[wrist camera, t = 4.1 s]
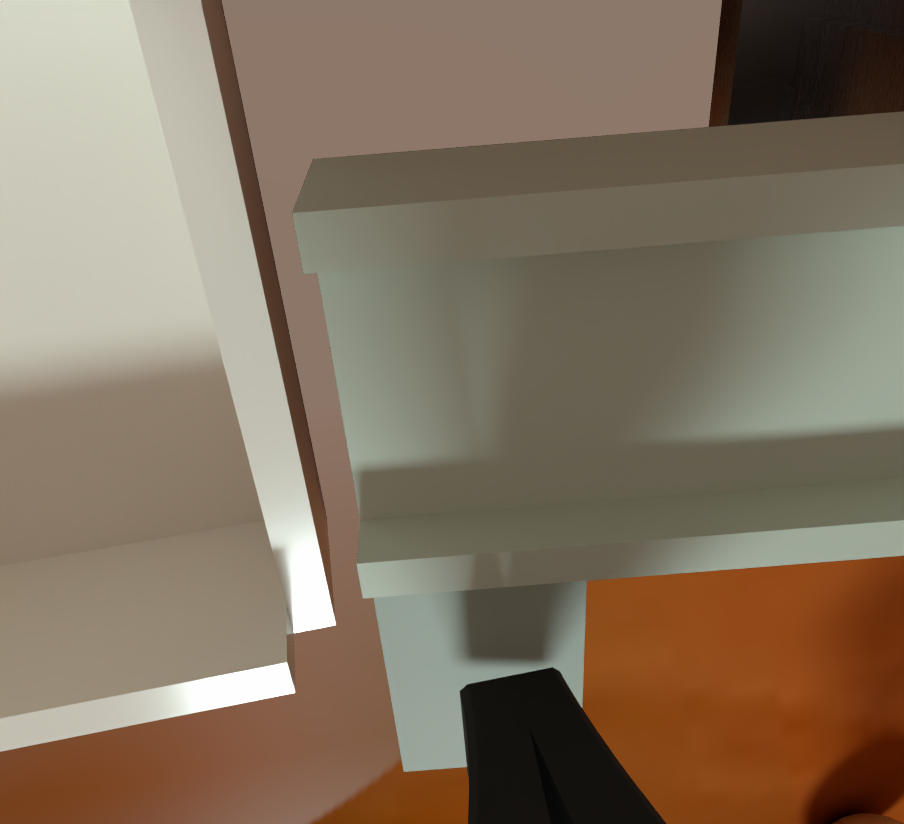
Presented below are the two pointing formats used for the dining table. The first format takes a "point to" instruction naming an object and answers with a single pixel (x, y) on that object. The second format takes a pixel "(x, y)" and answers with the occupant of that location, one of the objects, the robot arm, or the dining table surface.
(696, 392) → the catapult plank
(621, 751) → the dining table surface
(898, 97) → the fulcrum
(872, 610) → the dining table surface
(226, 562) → the tray
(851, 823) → the figurine
